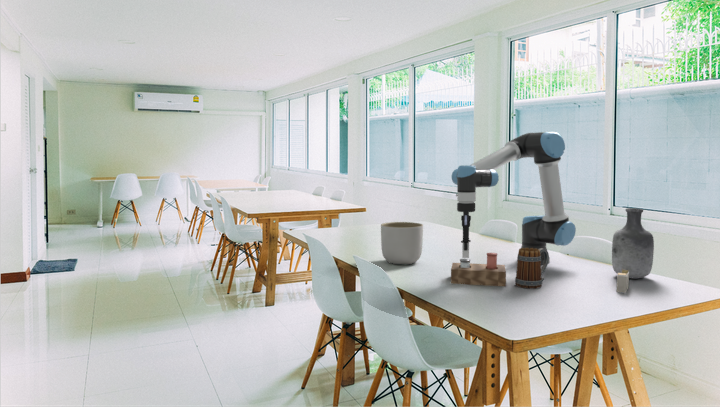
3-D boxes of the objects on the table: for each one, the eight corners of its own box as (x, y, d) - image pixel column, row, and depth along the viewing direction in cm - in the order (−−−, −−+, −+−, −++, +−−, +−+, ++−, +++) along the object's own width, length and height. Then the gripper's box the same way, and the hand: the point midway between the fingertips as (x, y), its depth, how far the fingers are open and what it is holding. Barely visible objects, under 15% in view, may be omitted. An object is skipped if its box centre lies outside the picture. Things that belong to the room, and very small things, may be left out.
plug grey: (470, 279, 226) (470, 258, 225) (469, 281, 222) (470, 260, 221) (459, 279, 227) (460, 258, 226) (459, 281, 223) (459, 260, 222)
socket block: (504, 278, 228) (504, 264, 227) (505, 286, 214) (506, 271, 214) (452, 276, 233) (452, 262, 232) (450, 283, 219) (451, 269, 218)
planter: (374, 265, 256) (374, 226, 254) (388, 257, 275) (388, 221, 273) (416, 268, 248) (416, 228, 246) (427, 260, 267) (427, 223, 266)
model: (616, 293, 206) (617, 273, 205) (619, 287, 215) (620, 268, 214) (625, 294, 204) (626, 274, 203) (628, 288, 213) (629, 269, 212)
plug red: (496, 273, 224) (497, 252, 223) (497, 276, 219) (497, 254, 218) (486, 273, 224) (486, 252, 224) (486, 275, 220) (486, 254, 219)
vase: (618, 271, 241) (621, 206, 238) (657, 277, 229) (660, 208, 227) (605, 277, 230) (607, 208, 227) (644, 283, 218) (648, 211, 215)
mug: (528, 290, 208) (529, 252, 207) (509, 284, 218) (510, 248, 216) (556, 285, 216) (557, 249, 214) (537, 280, 225) (538, 245, 223)
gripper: (457, 200, 229) (457, 254, 231) (456, 203, 216) (456, 260, 218) (475, 200, 227) (474, 254, 229) (475, 203, 214) (474, 261, 217)
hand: (465, 257), depth 224 cm, fingers closed
